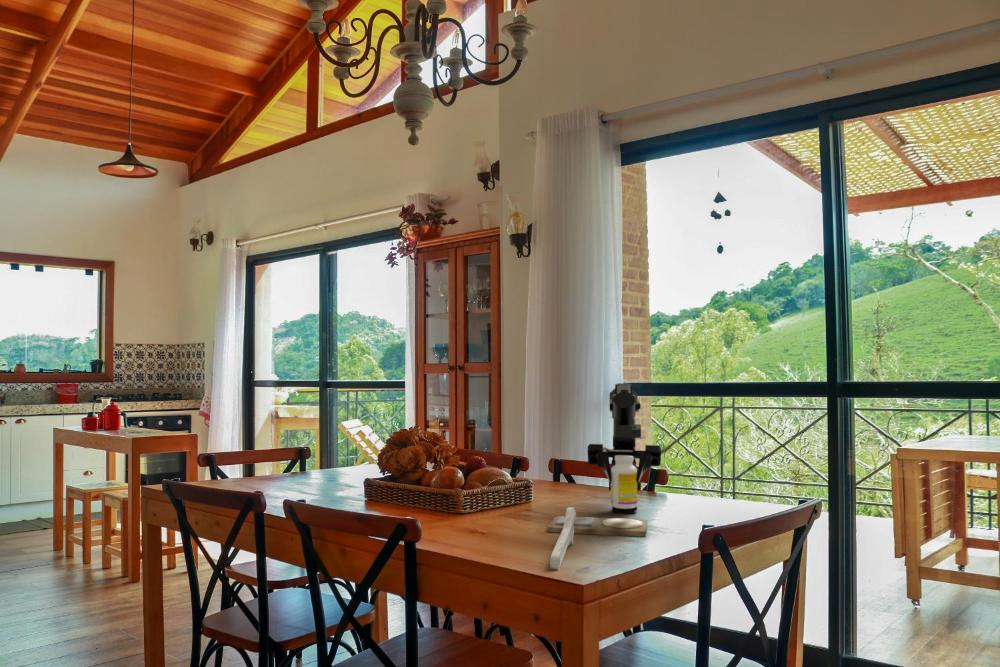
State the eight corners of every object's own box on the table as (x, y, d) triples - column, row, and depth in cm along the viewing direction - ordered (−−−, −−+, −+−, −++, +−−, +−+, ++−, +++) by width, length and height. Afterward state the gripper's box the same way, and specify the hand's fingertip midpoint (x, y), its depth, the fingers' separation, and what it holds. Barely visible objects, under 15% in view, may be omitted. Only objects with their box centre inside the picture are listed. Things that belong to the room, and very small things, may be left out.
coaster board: (547, 532, 207) (548, 524, 207) (555, 520, 222) (555, 513, 222) (645, 536, 202) (645, 529, 202) (647, 524, 217) (647, 517, 217)
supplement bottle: (642, 507, 210) (643, 456, 211) (624, 510, 206) (624, 458, 207) (623, 503, 216) (623, 453, 216) (605, 506, 212) (605, 455, 212)
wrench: (549, 584, 170) (568, 536, 199) (558, 584, 170) (576, 537, 199) (549, 545, 169) (568, 503, 199) (558, 546, 169) (576, 504, 198)
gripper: (587, 412, 217) (585, 460, 206) (660, 413, 214) (662, 462, 203) (589, 439, 224) (587, 487, 213) (659, 441, 222) (661, 489, 211)
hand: (624, 481), depth 210 cm, fingers closed on supplement bottle, 7 cm apart
